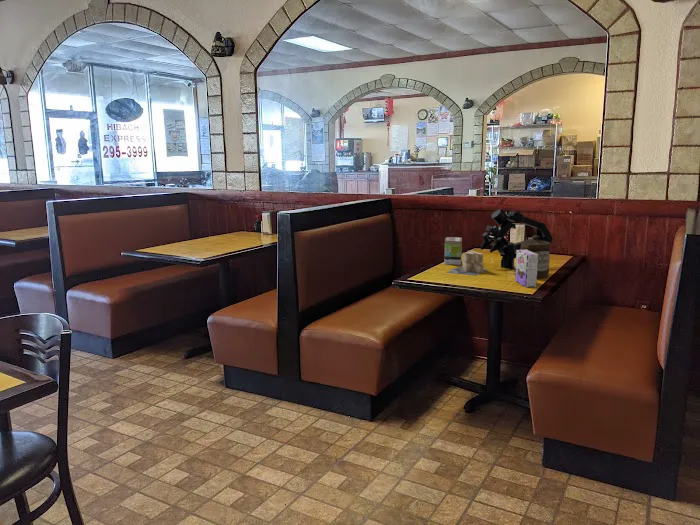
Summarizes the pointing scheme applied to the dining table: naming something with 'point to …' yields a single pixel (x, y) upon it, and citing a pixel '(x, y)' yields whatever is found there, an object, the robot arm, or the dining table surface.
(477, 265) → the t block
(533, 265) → the candy box
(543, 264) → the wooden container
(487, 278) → the dining table surface
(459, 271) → the push board
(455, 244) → the tea box
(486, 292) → the dining table surface
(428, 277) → the dining table surface
